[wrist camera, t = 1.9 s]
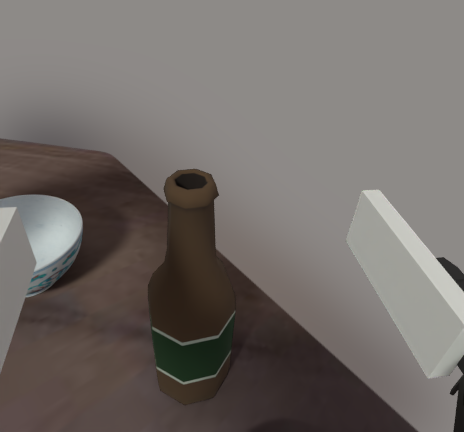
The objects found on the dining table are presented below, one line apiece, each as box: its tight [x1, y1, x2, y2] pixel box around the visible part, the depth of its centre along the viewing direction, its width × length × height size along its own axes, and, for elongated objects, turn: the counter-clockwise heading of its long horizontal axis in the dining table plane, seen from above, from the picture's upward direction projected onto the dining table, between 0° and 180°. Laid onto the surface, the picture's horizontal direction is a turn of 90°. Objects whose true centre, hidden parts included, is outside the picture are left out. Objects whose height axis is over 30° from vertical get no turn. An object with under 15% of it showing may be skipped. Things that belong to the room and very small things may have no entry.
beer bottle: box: [148, 169, 236, 405], centre depth 33 cm, size 8×8×24 cm
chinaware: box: [0, 195, 83, 297], centre depth 46 cm, size 15×15×8 cm
